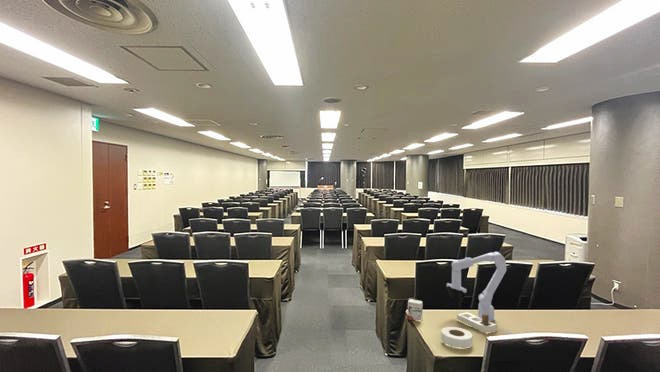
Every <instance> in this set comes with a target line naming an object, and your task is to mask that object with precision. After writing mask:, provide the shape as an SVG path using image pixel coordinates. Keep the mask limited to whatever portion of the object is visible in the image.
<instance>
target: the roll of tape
mask: <svg viewBox="0 0 660 372" xmlns="http://www.w3.org/2000/svg"><path fill="white" fill-rule="evenodd" d="M440 336H441V338H440V339H441V340H442V341H443V342H444V343H446V344H448V345H450V346H454V347H461V348H466V347H470V346H471V345H472V346H473V334H472V332H470V331H469V330H467V329H464V328H461V327H456V326H446V327H444V328H441V332H440ZM441 340H440V341H441Z"/></svg>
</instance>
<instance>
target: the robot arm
mask: <svg viewBox="0 0 660 372" xmlns="http://www.w3.org/2000/svg"><path fill="white" fill-rule="evenodd" d="M483 262H489V263H490V262H491V263H493V262H494V264H495V266H496V269H495V272H494V273H493V274H492V277H491V279H490V281H489V282H488V284H487V286H486V287H485V289H484V290H483V291H482V292H481V293H480V294H478V297H477V298H478V300H479V303H478V308H477V309H478V310H477V311H478V314H477V317H480V318H482V314H488V315H489V322H491V323H492V322H493V321H496V319H495V308H494V306H493V305H492V300H493V296H494V294H495V292H496V290H497V288H498V287H499V285H500V283H501V281H502V280H503V277H504V275H505V274H506V272H507V264H506V262H507V260H506V259H505V257H504V256H503V255H502V254H501V253H500V252H499V251H494V252H493V251H492V252H488V253H485V254H482V255H479V256H476V257H473V258H472V257H467V256H465V258H463V259H457V260H454V261H452V262H451V283H449V282H447V283H446V290H447V292H448V296H449V299H451V300H452V299H454V293H455V290H456V291H457V294H458V302H459V303H460V304H461V303H463V301H464V298H465V296H466V294H467V288H465V287H462V270H463V269H464V270H465V269H467V268H471V267H473V266H474V265H475V264H479V263H483Z"/></svg>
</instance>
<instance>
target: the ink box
mask: <svg viewBox="0 0 660 372" xmlns="http://www.w3.org/2000/svg"><path fill="white" fill-rule="evenodd" d="M423 306H424V304H423V301H422V300H418V299H412V298H410V299H408V301H407V320H409V321H413V320H421V319H422V320H423Z"/></svg>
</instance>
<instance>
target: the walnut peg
mask: <svg viewBox="0 0 660 372" xmlns="http://www.w3.org/2000/svg"><path fill="white" fill-rule="evenodd" d="M482 324H483V325H485V326H488V325H489V315H488V314H482Z"/></svg>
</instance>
